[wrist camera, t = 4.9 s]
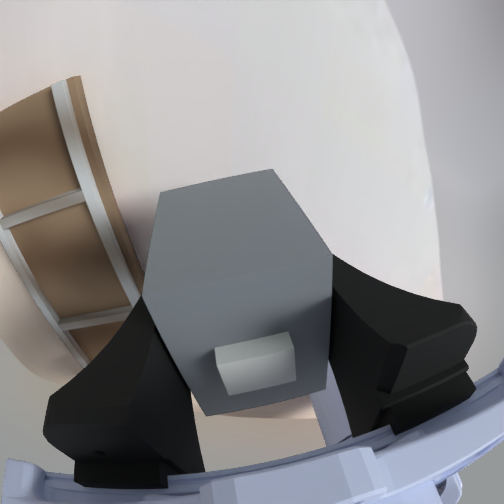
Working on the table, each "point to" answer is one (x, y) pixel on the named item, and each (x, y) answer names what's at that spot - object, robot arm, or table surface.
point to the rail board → (65, 219)
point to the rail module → (240, 291)
